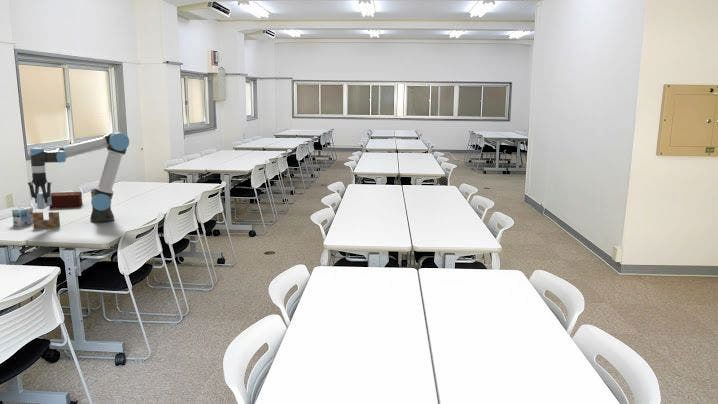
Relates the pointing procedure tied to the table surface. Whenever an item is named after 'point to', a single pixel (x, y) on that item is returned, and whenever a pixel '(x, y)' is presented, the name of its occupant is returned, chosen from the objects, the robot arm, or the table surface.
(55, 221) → the brown wooden u-shaped block
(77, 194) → the box
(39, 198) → the blue-grey rectangular slab
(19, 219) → the light bulb box
